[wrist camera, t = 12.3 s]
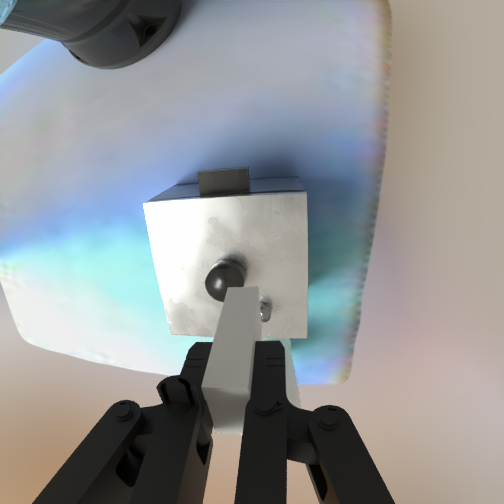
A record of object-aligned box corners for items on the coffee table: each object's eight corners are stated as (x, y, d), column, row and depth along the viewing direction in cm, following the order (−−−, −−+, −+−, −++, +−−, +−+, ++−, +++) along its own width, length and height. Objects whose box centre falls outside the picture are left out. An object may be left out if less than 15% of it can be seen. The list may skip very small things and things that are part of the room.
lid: (147, 201, 26) (133, 209, 24) (306, 191, 24) (308, 198, 22) (173, 330, 32) (164, 346, 29) (306, 333, 30) (307, 351, 27)
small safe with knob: (172, 168, 33) (145, 179, 26) (297, 158, 32) (304, 166, 25) (193, 306, 40) (177, 343, 33) (300, 303, 39) (305, 342, 31)
